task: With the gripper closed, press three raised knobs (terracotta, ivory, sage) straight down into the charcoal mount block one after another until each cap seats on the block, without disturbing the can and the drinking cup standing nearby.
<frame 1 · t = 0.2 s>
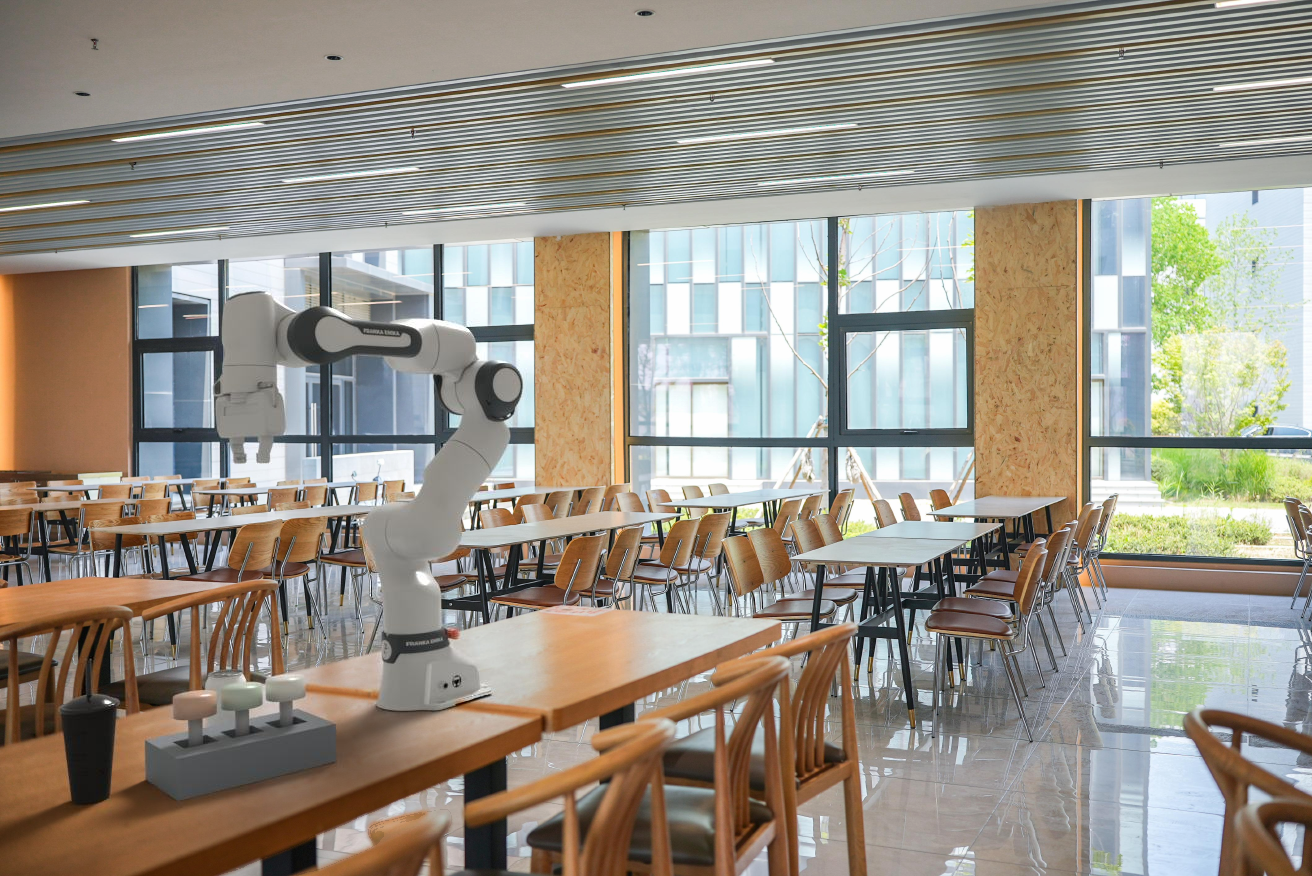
hand: (251, 463, 174), 48 cm above the table, tool pointing down, fingers open, 8 cm apart
knob mid: (242, 713, 156), point 9 cm above the table, slide at 0.0 cm
knob 2: (286, 704, 161), point 9 cm above the table, slide at 0.0 cm
mount: (243, 770, 156), on the table
knob 1: (195, 723, 151), point 9 cm above the table, slide at 0.0 cm
drinking cup: (90, 800, 144), on the table
can: (227, 744, 171), on the table
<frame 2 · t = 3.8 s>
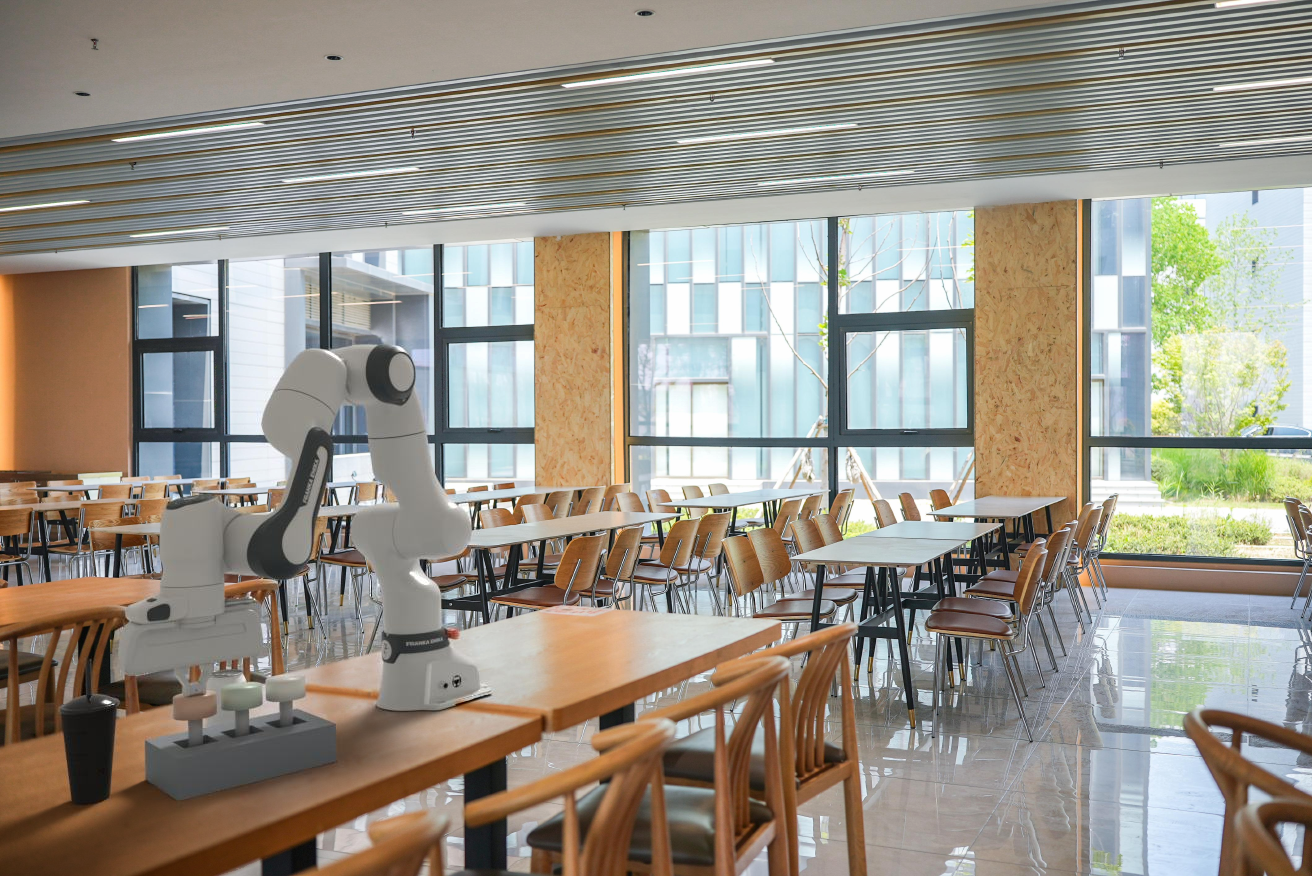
hand: (194, 695, 151), 13 cm above the table, tool pointing down, fingers closed, pressing on knob 1
knob 1: (195, 723, 151), point 9 cm above the table, slide at 0.1 cm, touching gripper
everything else where it was.
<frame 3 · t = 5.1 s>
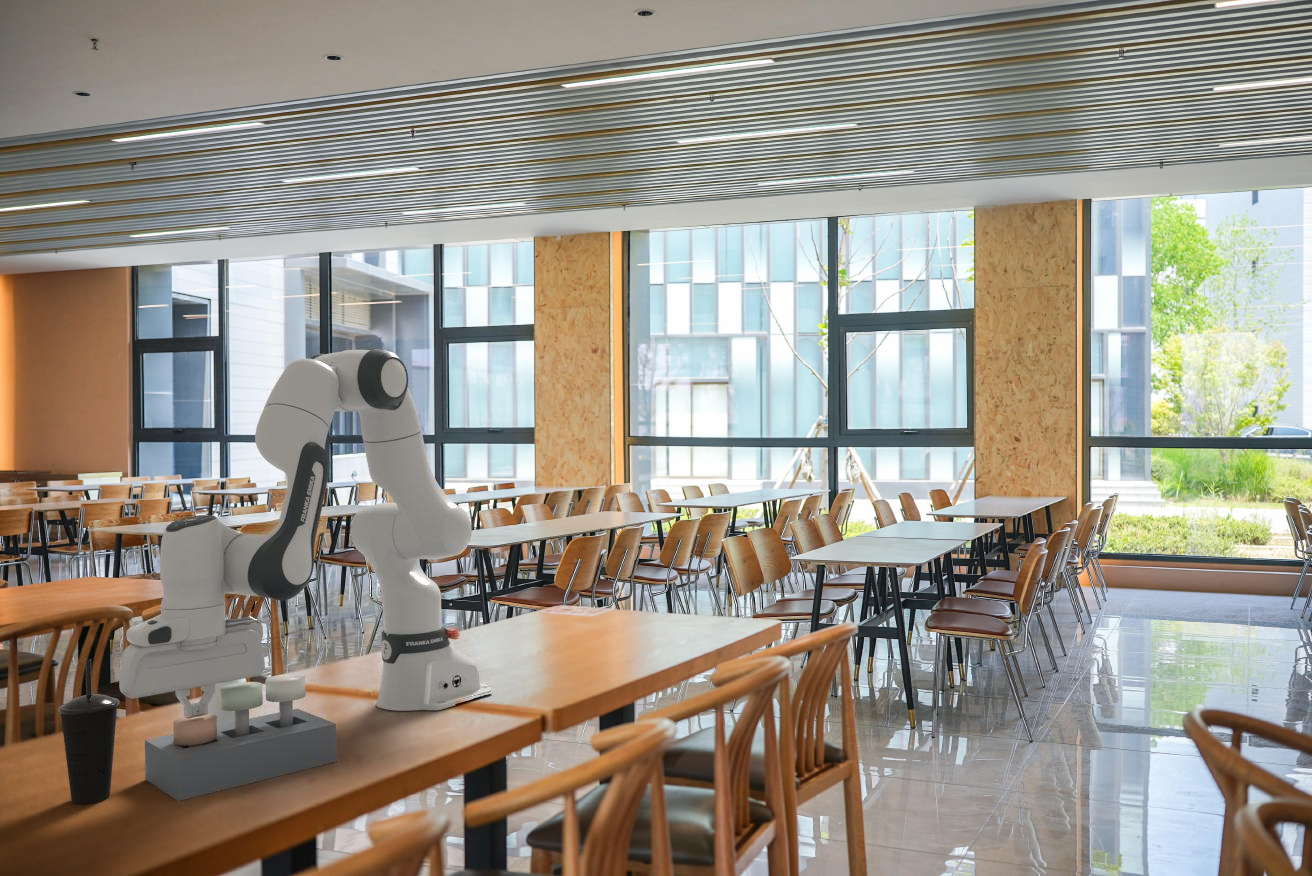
hand: (196, 716, 151), 10 cm above the table, tool pointing down, fingers closed
knob 1: (195, 747, 151), point 5 cm above the table, slide at 3.7 cm
everything else where it was.
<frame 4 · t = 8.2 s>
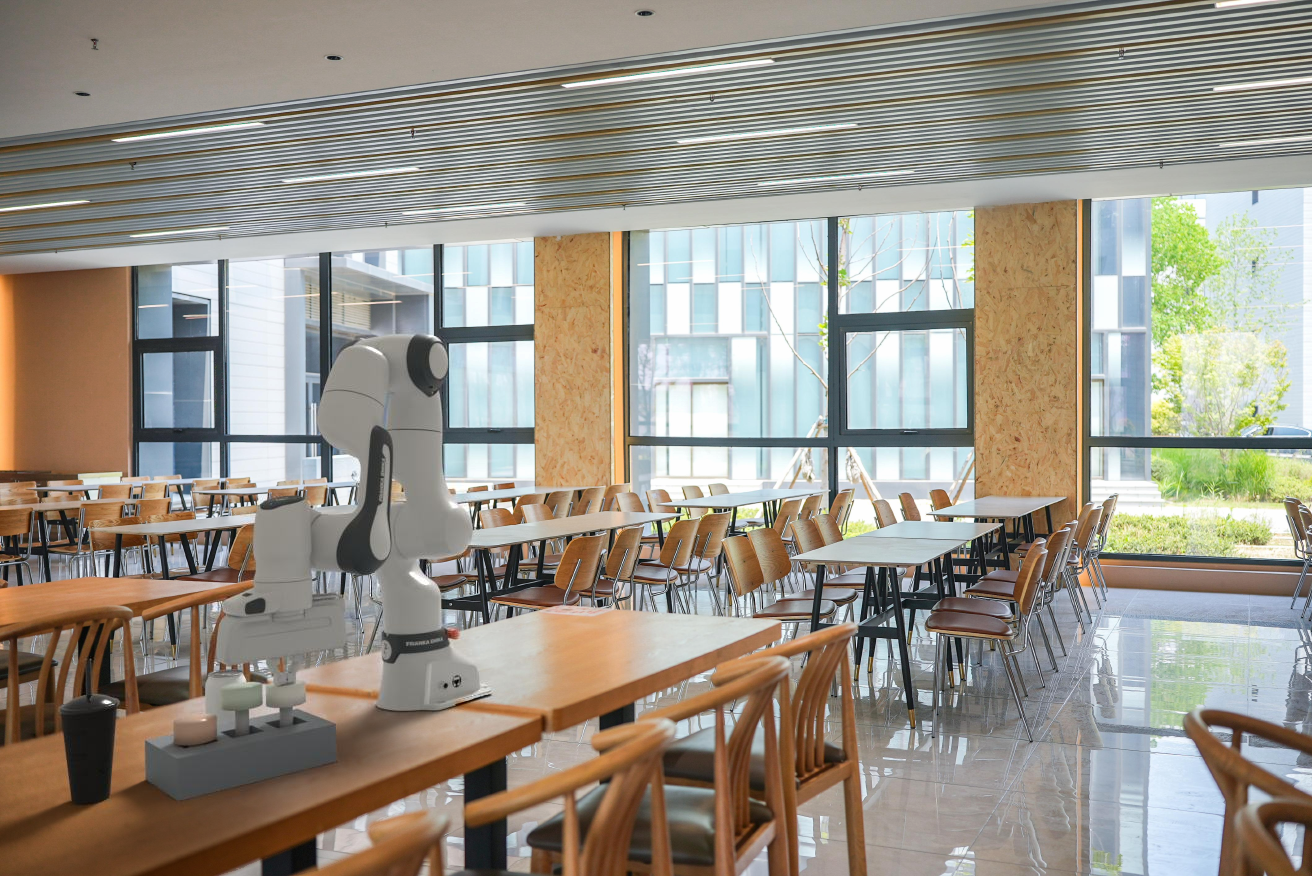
hand: (284, 684, 160), 12 cm above the table, tool pointing down, fingers closed, pressing on knob 2
knob 2: (286, 710, 161), point 8 cm above the table, slide at 1.0 cm, touching gripper
everything else where it was.
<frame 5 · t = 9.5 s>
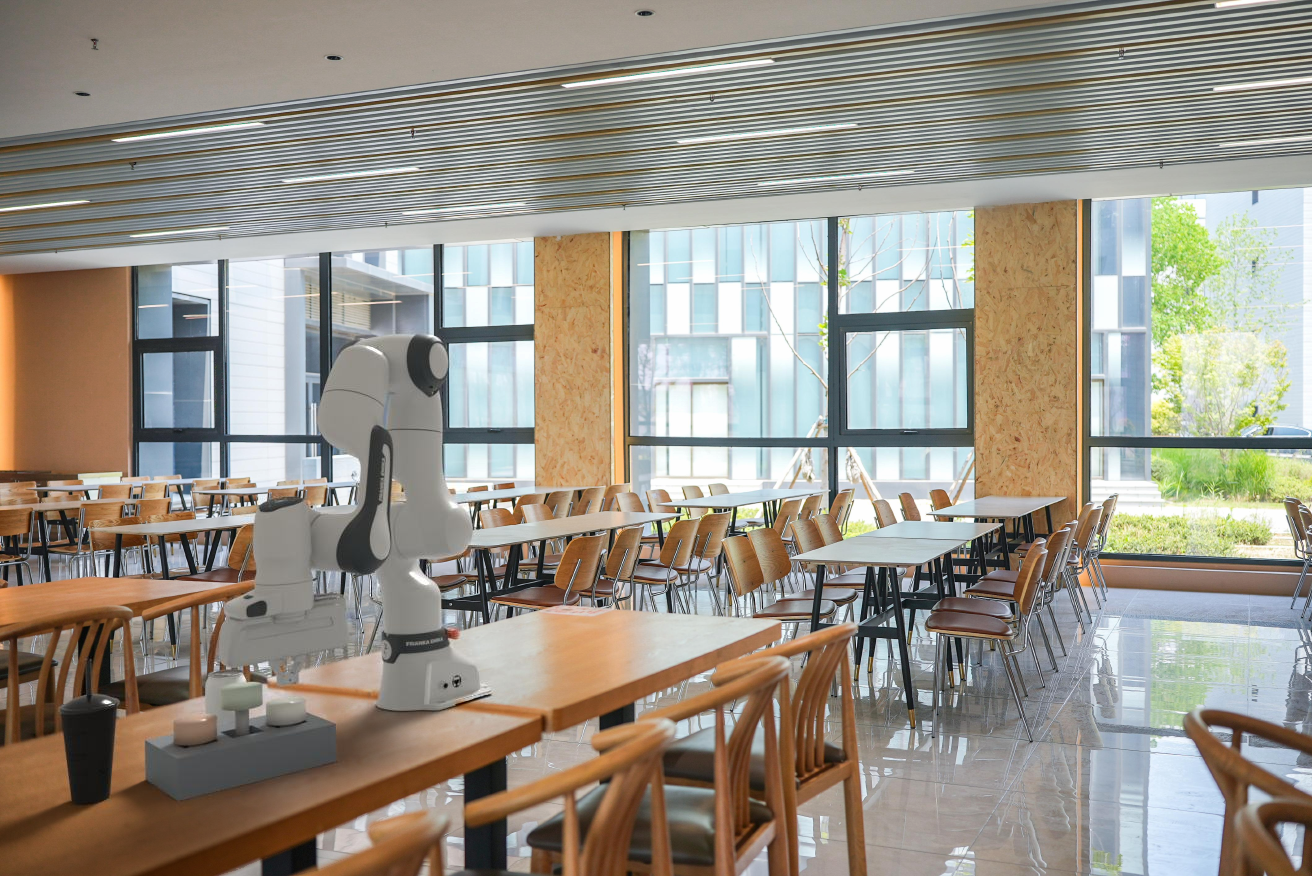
hand: (287, 684, 161), 12 cm above the table, tool pointing down, fingers closed
knob 2: (286, 727, 161), point 5 cm above the table, slide at 3.7 cm
everything else where it was.
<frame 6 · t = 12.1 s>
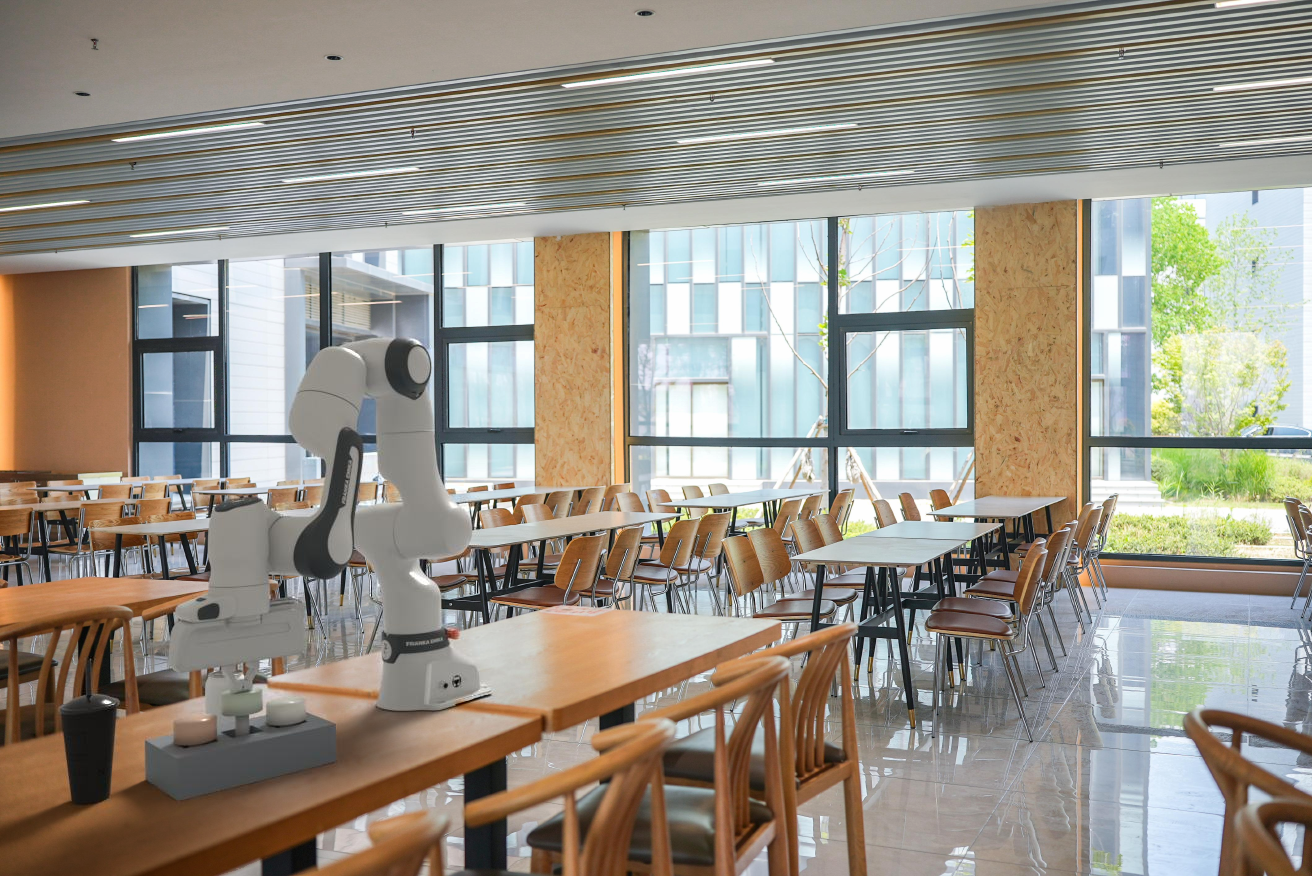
hand: (240, 691, 156), 12 cm above the table, tool pointing down, fingers closed, pressing on knob mid
knob mid: (242, 719, 156), point 8 cm above the table, slide at 0.9 cm, touching gripper
everything else where it was.
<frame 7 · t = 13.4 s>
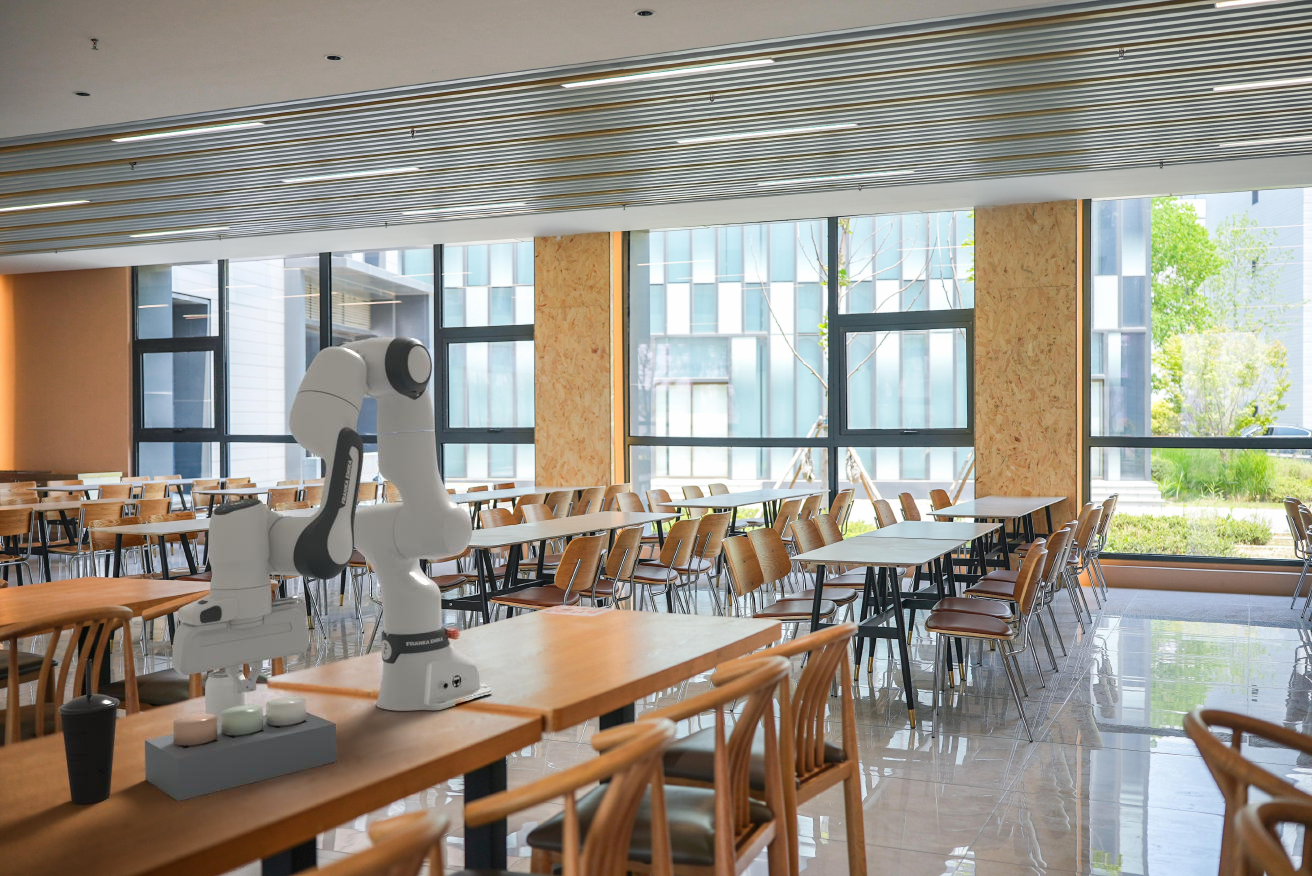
hand: (245, 691, 157), 12 cm above the table, tool pointing down, fingers closed
knob mid: (242, 737, 156), point 5 cm above the table, slide at 3.7 cm
everything else where it was.
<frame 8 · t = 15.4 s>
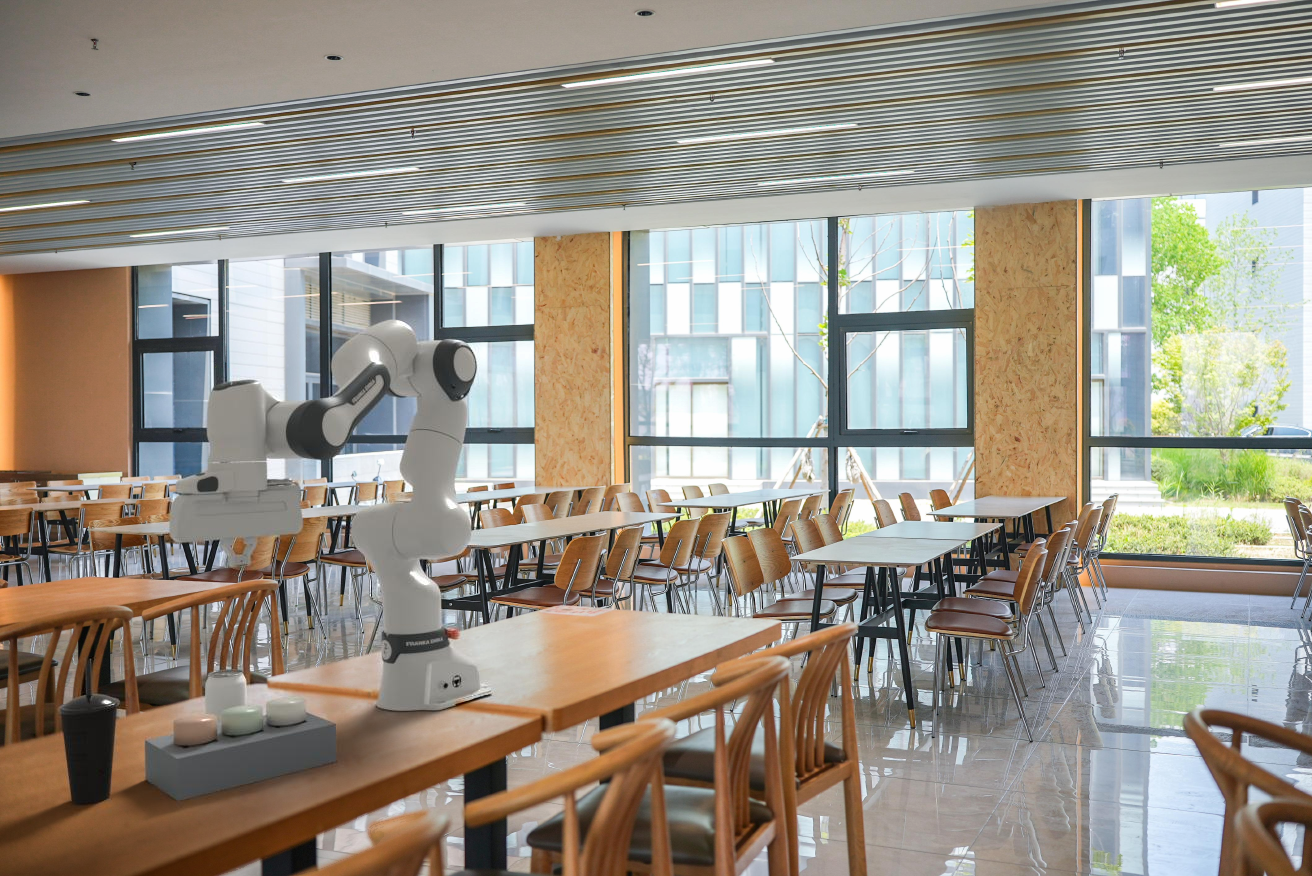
hand: (239, 566, 161), 31 cm above the table, tool pointing down, fingers closed
nothing on the table moved.
at the end: knob 1 slide at 3.7 cm; knob 2 slide at 3.7 cm; knob mid slide at 3.7 cm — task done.
